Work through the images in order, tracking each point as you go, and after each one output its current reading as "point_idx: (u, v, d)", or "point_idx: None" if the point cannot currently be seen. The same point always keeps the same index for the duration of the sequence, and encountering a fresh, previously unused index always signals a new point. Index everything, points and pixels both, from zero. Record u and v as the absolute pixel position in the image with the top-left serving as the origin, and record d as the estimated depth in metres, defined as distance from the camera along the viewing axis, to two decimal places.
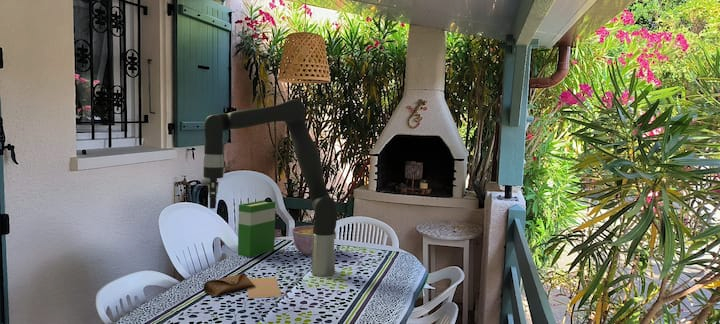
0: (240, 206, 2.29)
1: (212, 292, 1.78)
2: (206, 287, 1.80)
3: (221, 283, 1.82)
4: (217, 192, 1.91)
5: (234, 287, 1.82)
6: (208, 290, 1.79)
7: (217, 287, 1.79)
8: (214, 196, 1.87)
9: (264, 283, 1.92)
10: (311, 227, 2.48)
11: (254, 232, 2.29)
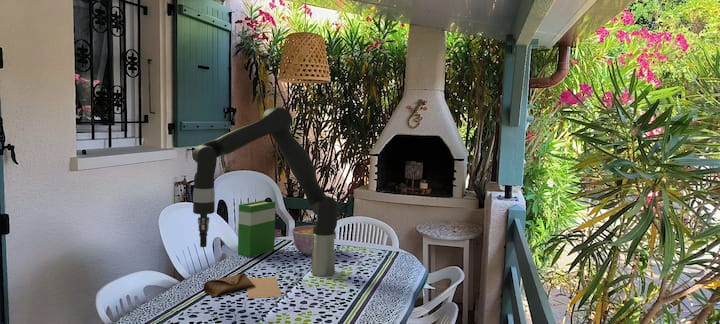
0: (240, 206, 2.29)
1: (212, 292, 1.78)
2: (206, 287, 1.80)
3: (221, 283, 1.82)
4: None
5: (234, 287, 1.82)
6: (208, 290, 1.79)
7: (217, 287, 1.79)
8: (205, 235, 1.78)
9: (264, 283, 1.92)
10: (311, 227, 2.48)
11: (254, 232, 2.29)
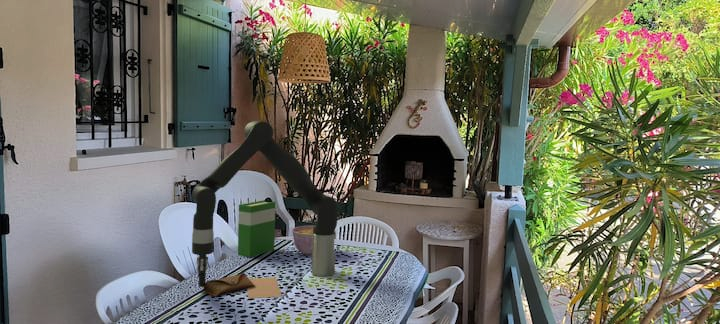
0: (240, 206, 2.29)
1: (212, 292, 1.78)
2: (206, 287, 1.80)
3: (221, 283, 1.82)
4: (206, 269, 1.81)
5: (234, 287, 1.82)
6: (208, 290, 1.79)
7: (217, 287, 1.79)
8: (203, 276, 1.79)
9: (264, 283, 1.92)
10: (311, 227, 2.48)
11: (254, 232, 2.29)
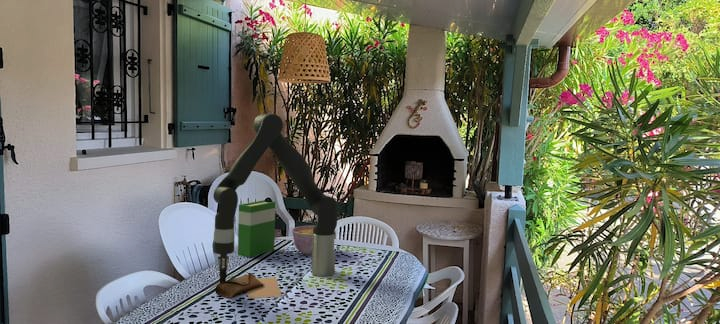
0: (240, 206, 2.29)
1: (226, 294, 1.77)
2: (218, 289, 1.78)
3: (232, 284, 1.81)
4: (227, 269, 1.83)
5: (246, 287, 1.82)
6: (221, 292, 1.78)
7: (230, 288, 1.79)
8: (224, 275, 1.81)
9: (264, 283, 1.92)
10: (311, 227, 2.48)
11: (254, 232, 2.29)
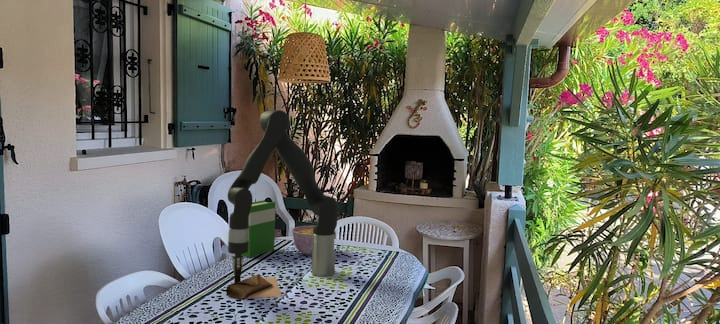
0: None
1: (238, 295, 1.76)
2: (230, 290, 1.77)
3: (243, 285, 1.80)
4: (242, 268, 1.85)
5: (257, 288, 1.82)
6: (232, 293, 1.77)
7: (241, 289, 1.78)
8: (239, 274, 1.83)
9: None
10: (311, 227, 2.48)
11: (254, 232, 2.29)
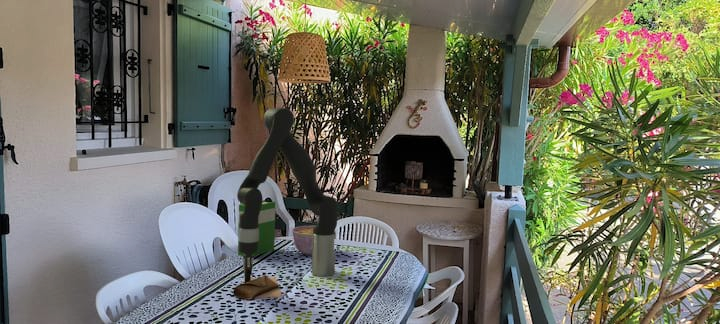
0: (240, 206, 2.29)
1: (245, 296, 1.75)
2: (237, 291, 1.77)
3: (250, 286, 1.80)
4: (252, 268, 1.85)
5: (264, 289, 1.81)
6: (239, 294, 1.76)
7: (249, 290, 1.77)
8: (249, 274, 1.83)
9: None
10: (311, 227, 2.48)
11: None
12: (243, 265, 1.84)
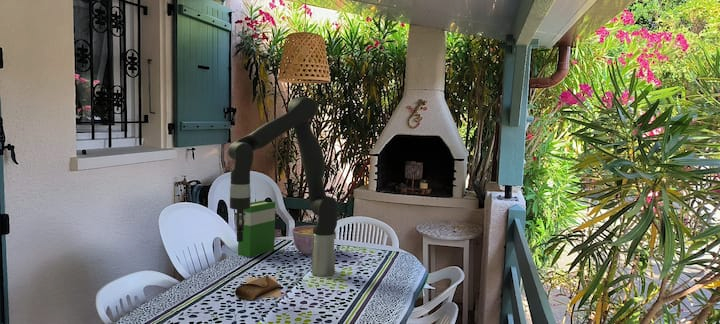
0: None
1: (247, 296, 1.75)
2: (239, 292, 1.76)
3: (252, 286, 1.79)
4: (244, 224, 1.83)
5: (266, 289, 1.81)
6: (241, 295, 1.76)
7: (250, 290, 1.77)
8: (241, 230, 1.81)
9: None
10: (311, 227, 2.48)
11: (254, 232, 2.29)
12: (235, 221, 1.82)
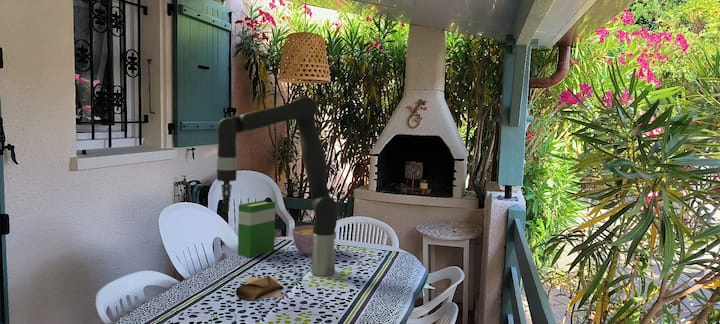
0: (240, 206, 2.29)
1: (248, 296, 1.75)
2: (239, 292, 1.76)
3: (253, 286, 1.79)
4: (230, 196, 1.95)
5: (267, 289, 1.81)
6: (242, 295, 1.76)
7: (251, 290, 1.77)
8: (228, 201, 1.93)
9: None
10: (311, 227, 2.48)
11: (254, 232, 2.29)
12: None
